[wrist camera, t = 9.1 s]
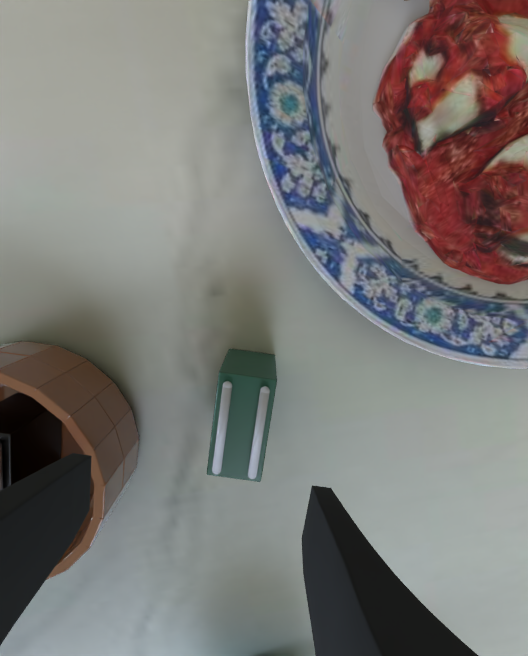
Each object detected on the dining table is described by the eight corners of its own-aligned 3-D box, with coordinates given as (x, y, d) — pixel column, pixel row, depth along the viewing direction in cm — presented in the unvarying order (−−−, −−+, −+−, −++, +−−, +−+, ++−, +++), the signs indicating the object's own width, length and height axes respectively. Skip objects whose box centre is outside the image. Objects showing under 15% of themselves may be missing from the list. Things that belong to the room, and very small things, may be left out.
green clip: (262, 438, 19) (260, 488, 15) (218, 432, 19) (204, 480, 15) (275, 354, 18) (277, 383, 14) (229, 347, 18) (217, 374, 14)
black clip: (61, 479, 19) (4, 540, 15) (17, 473, 19) (-52, 532, 15) (63, 398, 18) (2, 439, 14) (16, 391, 18) (-58, 431, 14)
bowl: (135, 527, 20) (99, 602, 16) (-47, 503, 20) (-135, 572, 16) (148, 354, 18) (110, 386, 14) (-57, 325, 18) (-163, 348, 13)
